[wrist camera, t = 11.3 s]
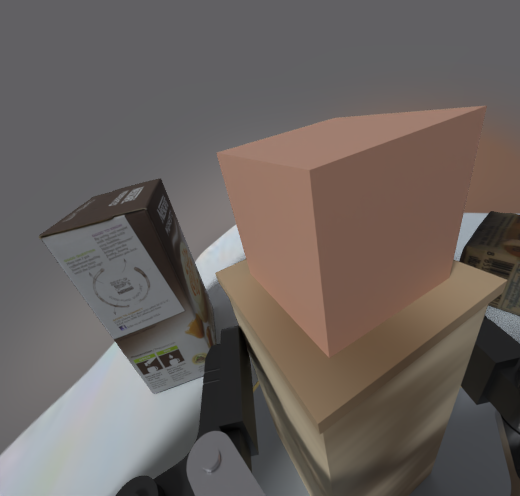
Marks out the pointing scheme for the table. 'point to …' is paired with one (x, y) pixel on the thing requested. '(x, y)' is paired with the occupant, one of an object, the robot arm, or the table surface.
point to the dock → (443, 472)
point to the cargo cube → (353, 214)
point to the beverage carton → (498, 255)
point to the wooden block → (364, 383)
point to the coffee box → (139, 280)
